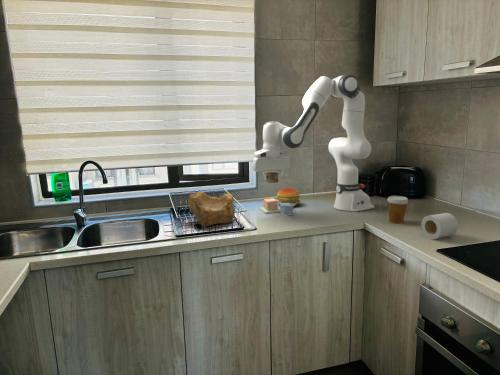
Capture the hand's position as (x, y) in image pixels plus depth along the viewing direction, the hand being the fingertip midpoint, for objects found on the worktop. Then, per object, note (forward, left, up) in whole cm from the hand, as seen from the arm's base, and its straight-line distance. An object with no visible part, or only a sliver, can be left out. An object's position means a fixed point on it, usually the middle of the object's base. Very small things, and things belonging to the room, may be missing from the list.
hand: (271, 178), depth 195 cm
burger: (-15, -12, -19) cm, 27 cm away
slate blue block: (-7, +4, -19) cm, 21 cm away
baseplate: (-1, -4, -19) cm, 19 cm away
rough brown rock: (+35, +7, -19) cm, 40 cm away
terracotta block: (-1, -4, -18) cm, 18 cm away
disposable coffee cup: (-51, +37, -19) cm, 66 cm away
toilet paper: (-53, +61, -19) cm, 83 cm away
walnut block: (0, 0, -2) cm, 2 cm away
